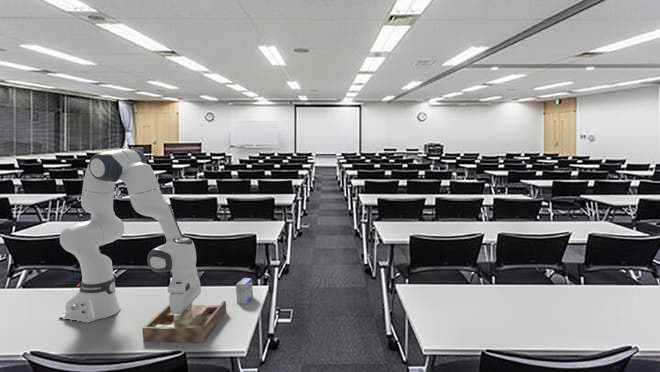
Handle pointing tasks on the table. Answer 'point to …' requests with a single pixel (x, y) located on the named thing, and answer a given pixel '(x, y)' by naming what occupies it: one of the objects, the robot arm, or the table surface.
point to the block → (183, 318)
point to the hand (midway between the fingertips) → (187, 314)
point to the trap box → (195, 332)
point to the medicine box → (244, 290)
